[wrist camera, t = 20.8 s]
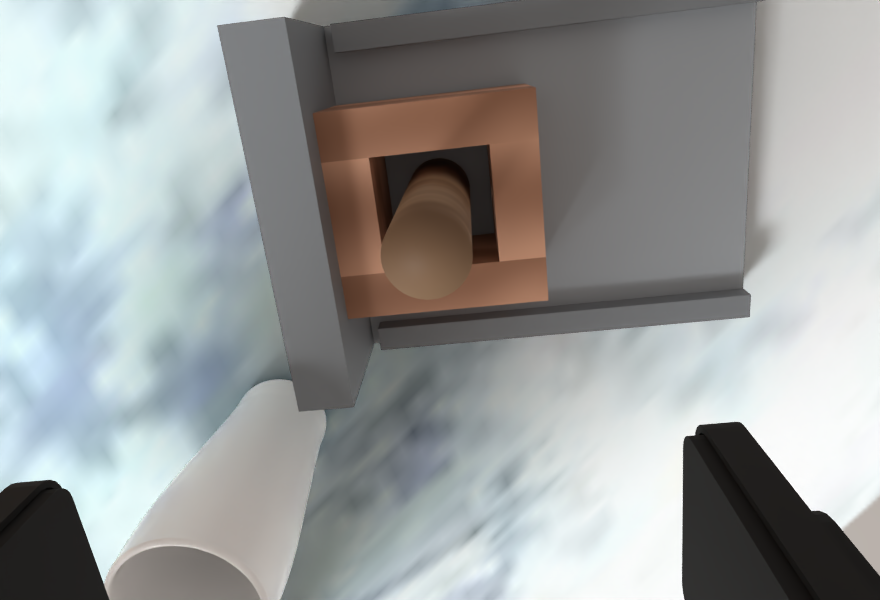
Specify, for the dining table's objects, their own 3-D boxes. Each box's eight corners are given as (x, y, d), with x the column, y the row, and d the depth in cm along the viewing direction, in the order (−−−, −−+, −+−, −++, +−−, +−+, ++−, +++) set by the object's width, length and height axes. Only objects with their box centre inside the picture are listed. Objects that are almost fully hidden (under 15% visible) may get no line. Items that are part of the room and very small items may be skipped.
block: (536, 267, 33) (548, 300, 29) (364, 283, 34) (348, 319, 29) (524, 83, 30) (535, 87, 26) (335, 105, 31) (312, 113, 26)
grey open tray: (727, 297, 36) (808, 369, 28) (335, 332, 38) (298, 411, 29) (740, -23, 31) (845, -55, 22) (282, 35, 32) (217, 25, 24)
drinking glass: (320, 353, 38) (236, 524, 24) (354, 450, 40) (295, 660, 26) (212, 376, 39) (69, 556, 25) (251, 471, 41) (140, 685, 27)
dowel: (472, 215, 33) (476, 295, 22) (413, 220, 33) (387, 303, 22) (466, 154, 32) (467, 206, 21) (405, 161, 32) (374, 215, 21)
